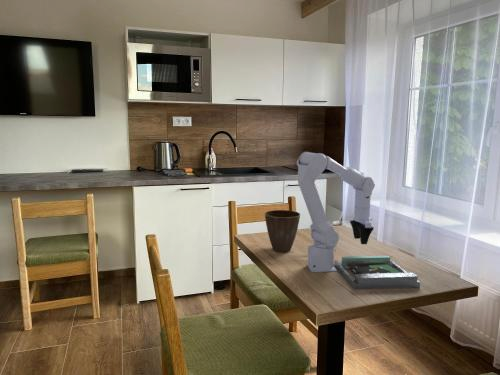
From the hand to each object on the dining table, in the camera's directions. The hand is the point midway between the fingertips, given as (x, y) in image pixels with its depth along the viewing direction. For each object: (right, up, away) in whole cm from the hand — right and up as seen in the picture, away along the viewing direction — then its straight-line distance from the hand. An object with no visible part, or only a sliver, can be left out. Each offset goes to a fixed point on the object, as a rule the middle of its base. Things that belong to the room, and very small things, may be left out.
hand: (360, 241), depth 155 cm
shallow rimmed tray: (+1, -11, -13) cm, 17 cm away
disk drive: (+2, -11, -12) cm, 17 cm away
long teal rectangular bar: (+1, -9, -5) cm, 11 cm away
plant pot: (-29, -6, +16) cm, 34 cm away
